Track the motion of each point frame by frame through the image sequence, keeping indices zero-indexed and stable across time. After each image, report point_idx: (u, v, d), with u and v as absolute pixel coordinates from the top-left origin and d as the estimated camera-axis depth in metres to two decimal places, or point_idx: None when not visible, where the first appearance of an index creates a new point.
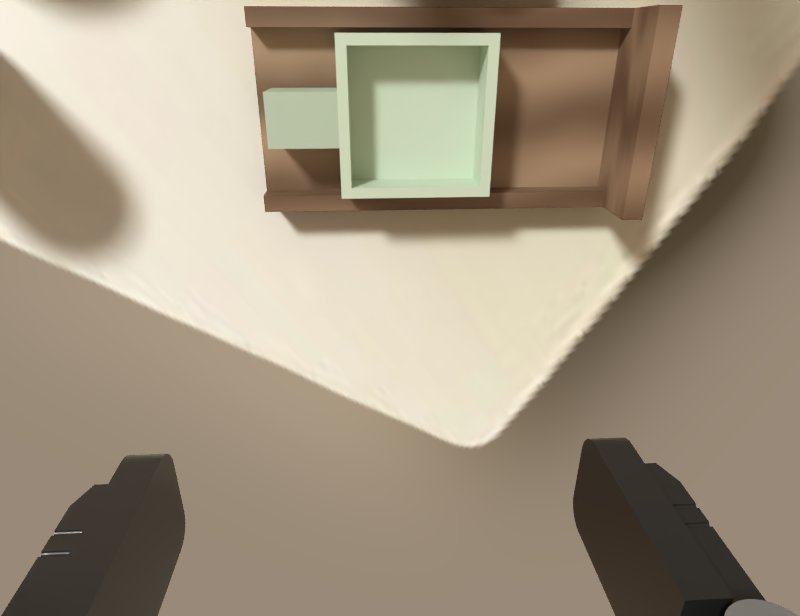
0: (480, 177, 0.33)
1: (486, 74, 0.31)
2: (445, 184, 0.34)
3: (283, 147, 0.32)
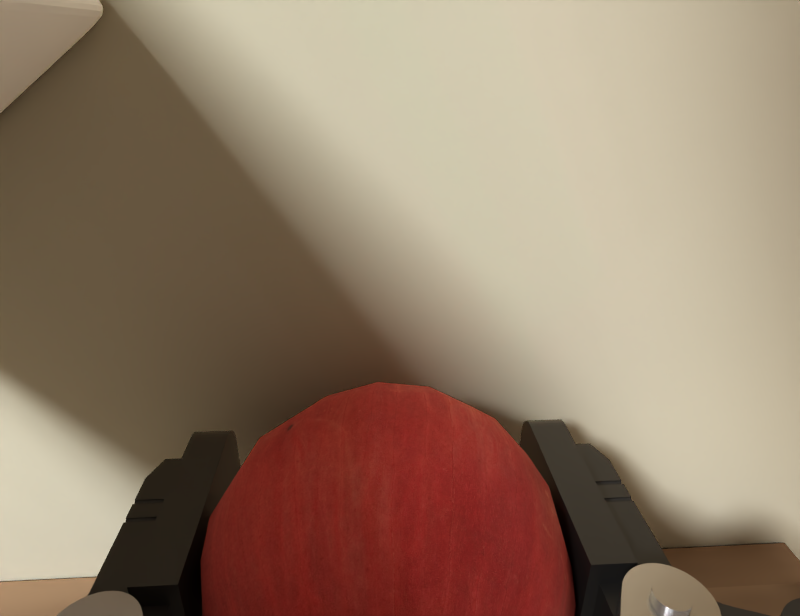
0: None
1: None
2: None
3: None
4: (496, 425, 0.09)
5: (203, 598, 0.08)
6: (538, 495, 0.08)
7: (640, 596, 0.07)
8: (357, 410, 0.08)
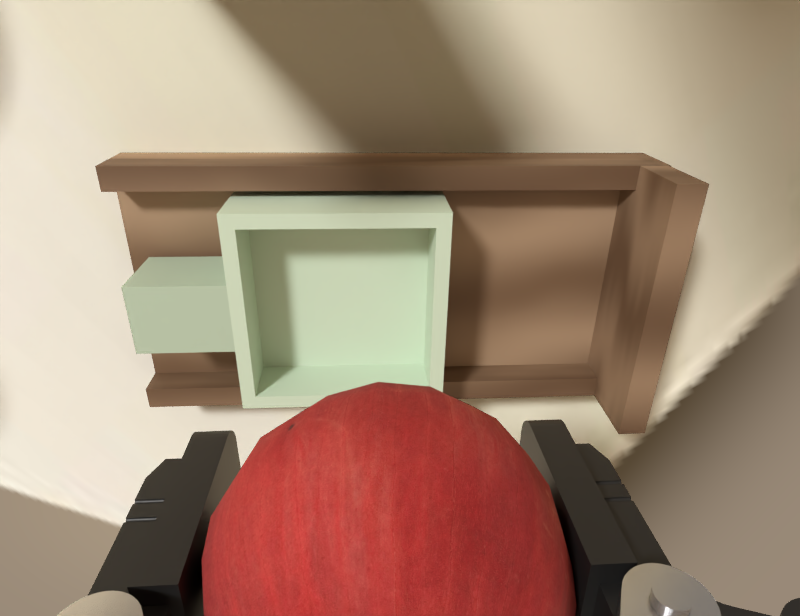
0: (429, 380, 0.25)
1: (434, 261, 0.22)
2: None
3: (157, 351, 0.23)
4: (497, 425, 0.09)
5: (204, 598, 0.08)
6: (539, 495, 0.08)
7: (639, 596, 0.07)
8: (359, 410, 0.08)
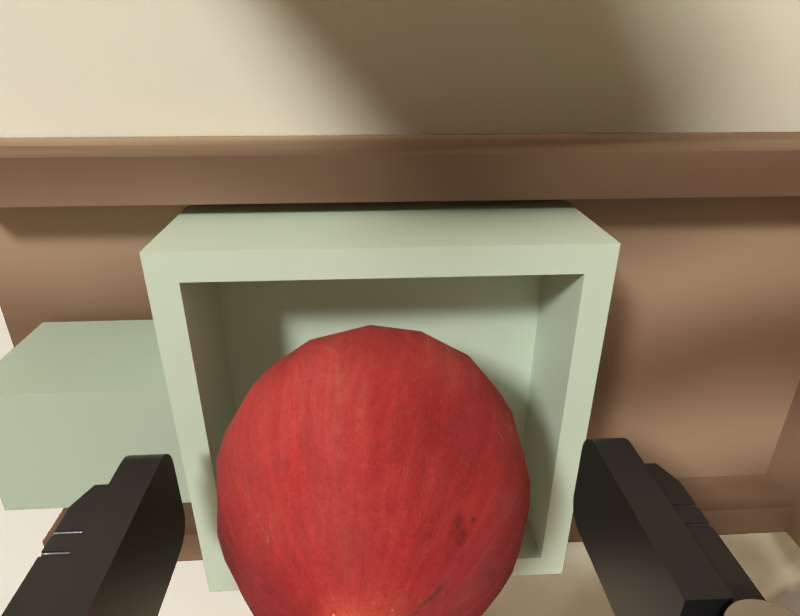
0: (542, 537, 0.14)
1: (572, 336, 0.12)
2: None
3: (44, 506, 0.12)
4: (467, 358, 0.10)
5: (217, 484, 0.09)
6: (497, 412, 0.10)
7: None
8: (348, 339, 0.10)
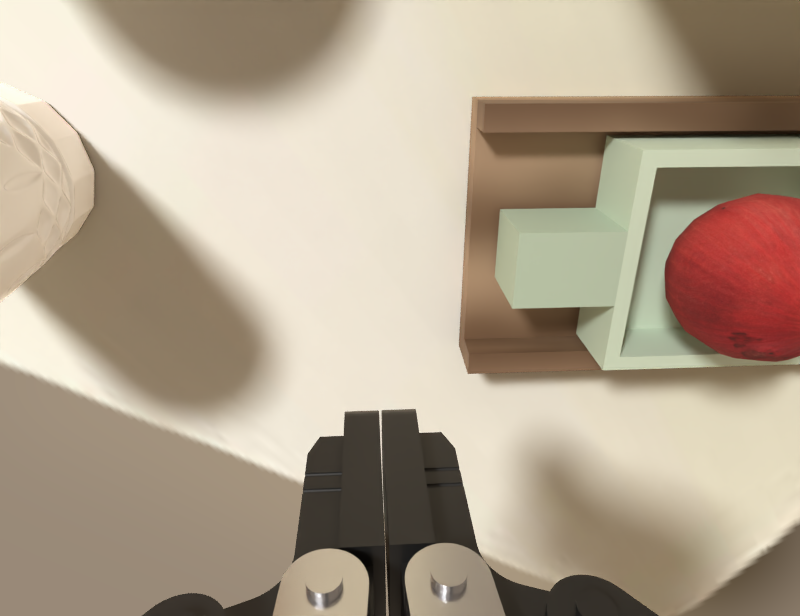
0: None
1: None
2: None
3: (534, 306, 0.22)
4: None
5: (709, 268, 0.19)
6: None
7: (420, 573, 0.08)
8: (759, 197, 0.19)
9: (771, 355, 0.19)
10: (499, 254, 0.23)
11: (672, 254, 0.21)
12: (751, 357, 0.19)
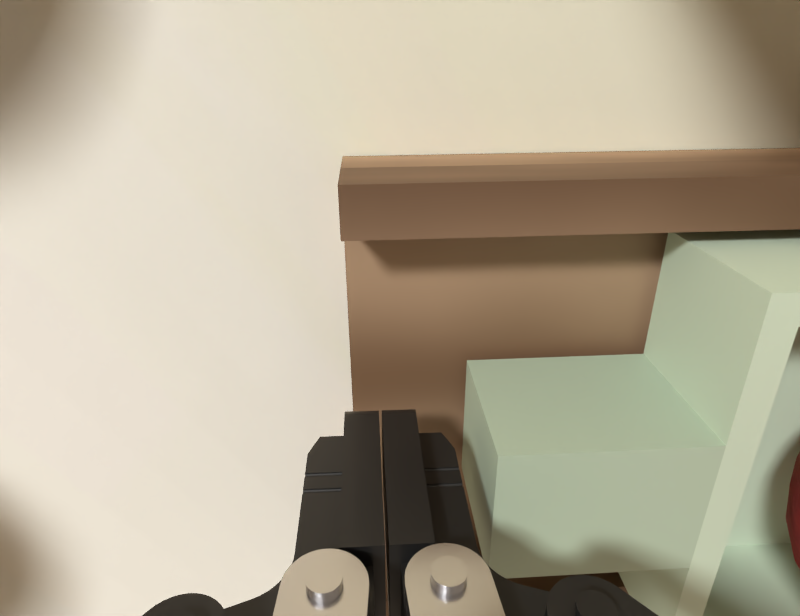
0: None
1: None
2: None
3: (532, 574, 0.11)
4: None
5: None
6: None
7: (420, 573, 0.08)
8: None
9: None
10: (467, 440, 0.13)
11: None
12: None
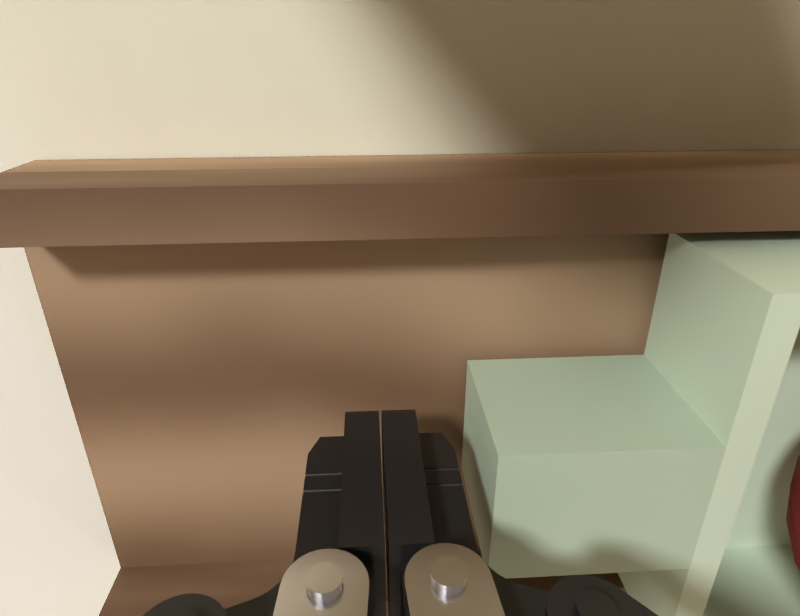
0: None
1: None
2: None
3: (532, 575, 0.11)
4: None
5: None
6: None
7: (420, 573, 0.08)
8: None
9: None
10: (467, 440, 0.13)
11: None
12: None
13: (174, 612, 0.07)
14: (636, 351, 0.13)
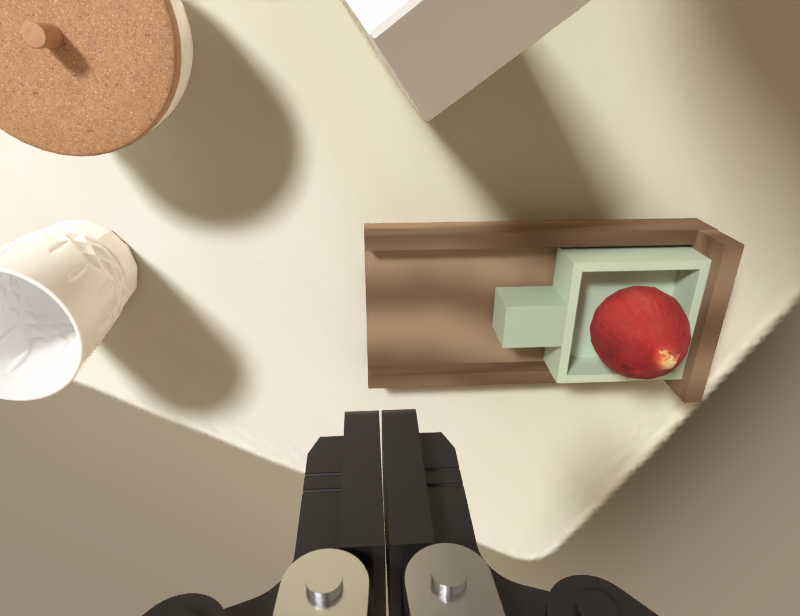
0: None
1: (693, 289, 0.36)
2: None
3: (515, 346, 0.37)
4: None
5: (608, 329, 0.34)
6: (681, 308, 0.35)
7: (420, 573, 0.08)
8: (638, 289, 0.35)
9: (642, 376, 0.34)
10: (495, 313, 0.39)
11: (593, 318, 0.36)
12: (633, 377, 0.35)
13: (174, 612, 0.07)
14: (550, 285, 0.39)
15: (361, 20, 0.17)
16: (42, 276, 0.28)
